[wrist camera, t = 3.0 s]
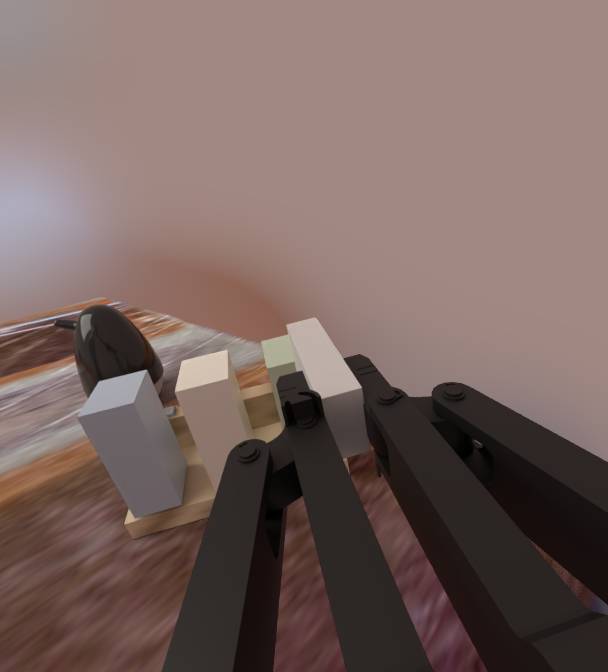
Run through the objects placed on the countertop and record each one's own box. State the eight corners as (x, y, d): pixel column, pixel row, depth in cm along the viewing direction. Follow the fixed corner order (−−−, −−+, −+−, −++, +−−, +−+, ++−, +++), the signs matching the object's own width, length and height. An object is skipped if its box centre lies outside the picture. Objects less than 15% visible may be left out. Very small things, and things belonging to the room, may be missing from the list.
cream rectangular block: (216, 494, 31) (174, 392, 26) (217, 454, 35) (181, 360, 31) (260, 481, 31) (228, 378, 27) (256, 444, 36) (227, 349, 31)
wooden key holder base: (133, 539, 31) (102, 488, 28) (153, 459, 40) (131, 414, 37) (349, 475, 33) (341, 421, 30) (323, 413, 42) (315, 367, 39)
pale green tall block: (293, 472, 32) (267, 368, 27) (285, 436, 36) (261, 341, 31) (336, 460, 32) (317, 355, 27) (322, 425, 37) (304, 330, 32)
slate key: (134, 518, 30) (76, 417, 25) (146, 474, 35) (99, 381, 30) (181, 505, 31) (133, 402, 26) (187, 463, 35) (146, 369, 30)
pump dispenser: (113, 390, 56) (69, 301, 50) (178, 376, 56) (143, 286, 50) (84, 433, 47) (26, 330, 40) (162, 416, 47) (117, 312, 41)
